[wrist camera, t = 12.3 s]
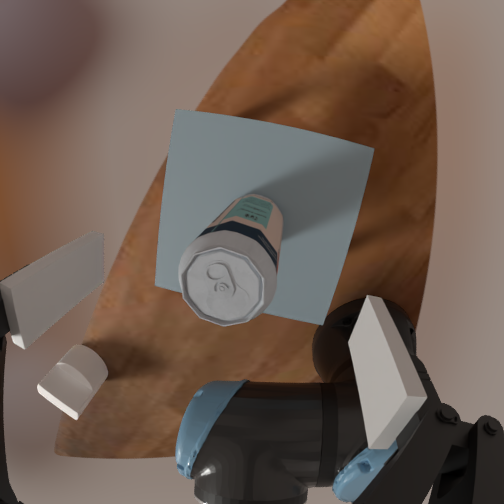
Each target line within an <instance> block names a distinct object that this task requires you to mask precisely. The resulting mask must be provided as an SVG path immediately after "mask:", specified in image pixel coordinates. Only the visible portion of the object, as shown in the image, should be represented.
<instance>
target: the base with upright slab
mask: <svg viewBox="0 0 504 504" xmlns="http://www.w3.org/2000/svg"><path fill="white" fill-rule="evenodd" d="M107 376H108V370H107V367H106V365H105V363H104V361H103V360H102V359H101V357H100V356H99V355H98V354H97V353H96V352H94V351H93V350H92V349H90V348H88V347H86V346H84V345H75V346H73V347H72V348H71V349H70V350H69V351H68V352H67V354H66V355H65V356H64V357H63V358H62V359H61V360H60V361H59V362H58V363H57V364H56V365H55V366H54V367H53V369H52V370H51V371H50V372H49V373H48V374H47V375H46V376H45V377H44V378H43V380H42V381H41V382H40V383H39V384H38V386H37V388H38V392H39V393H40V394H41V395H42V396H44V397H45V398H46V399H47V400H49V401H50V402H52V403H53V404H54V405H56V406H57V407H58V408H59V409H61V410H62V411H64V412H65V413H66V414H68V415H69V416H71V417H72V418H74V419H75V420H77V419H78V418H79V416H80V415H81V413H82V412H83V410H84V409H85V408H86V406H87V405H88V403H89V402H90V401H91V399H92V398H93V396H94V395H95V394H96V392H97V391H98V389H99V388H100V387H101V385H102V384H103V382H104V381H105V380H106V378H107Z"/></svg>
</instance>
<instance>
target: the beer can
mask: <svg viewBox="0 0 504 504" xmlns="http://www.w3.org/2000/svg"><path fill="white" fill-rule="evenodd" d="M283 228H284V219H283V215H282V213H281V211H280V209H279V208H278V206H277V205H276V204H275V203H274V202H273V201H272V200H271V199H269V198H267V197H265V196H262V195H258V194H248V195H244V196H241V197H239V198H237V199H235V200H234V201H233V202H232V203H231V204H230V205H229V206H228V207H227V208H226V209H225V210H224V211H223V212H222V213H221V214H220V215H219V216H218V217H217V218H216V219H215V220H214V221H213V222H212V223H211V224H210V225H209V226H208V227H207V228H206V229H205V230H204V231H203V232H202V233H201V234H200V235H199V236H198V237H197V238H196V239H195V240H194V241H193V242H192V243H191V244H190V245H189V246H188V247H187V248H186V250H185V252H184V253H183V255H182V257H181V260H180V264H179V270H178V275H179V283H180V286H181V290H182V294H183V299H184V300H185V301H186V303H187V304H188V305H189V306H190V307H191V309H192V310H193V311H194V312H195V313H196V314H197V316H198V317H199V318H201V319H204V320H207V321H210V322H212V323H215V324H218V325H221V326H229V325H234V324H239V323H244V322H248V321H249V320H251V319H253V318H255V317H257V316H258V315H260V314H261V313H262V312H263V311H265V309H266V308H267V307H268V306H269V305H270V303H271V302H272V300H273V298H274V296H275V292H276V289H277V273H278V265H279V257H280V249H281V241H282V233H283Z"/></svg>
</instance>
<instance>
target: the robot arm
mask: <svg viewBox="0 0 504 504" xmlns="http://www.w3.org/2000/svg"><path fill="white" fill-rule="evenodd" d="M102 283H104V234H102V233H98V232H94V231H91V232H89V233H87V234H85V235H83V236H82V237H80V238H78V239H76V240H74V241H72V242H70V243H68V244H66V245H64V246H63V247H60V248H59V249H57V250H55V251H53V252H51V253H49V254H48V255H46V256H44V257H42V258H40V259H39V260H37V261H35V262H33V263H31V264H29V265H26V266H25V267H23V268H21V269H20V270H19V271H16V272H14V273H13V275H12V274H11V275H9V276H8V277H6V278H4V279H3V280H1V281H0V504H23V503H22V502H21V501H19V502H18V501H17V498H16V496H15V494H14V492H13V490H12V488H11V486H10V483H9V479H8V471H7V463H6V454H5V442H4V426H3V425H4V424H3V387H4V366H5V354H6V344H7V341H6V337H5V334H6V333H8V332H9V331H10V333H11V336H12V340H13V343H15V344H16V345H18V346H20V347H22V348H23V349H26V348H28V347H29V346H30V345H31V344H32V343H33V342H34V341H35V340H36V339H37V338H39V337H40V336H41V335H42V334H43V333H44V332H45V331H46V330H47V329H48V328H50V327H51V326H52V325H53V324H55V323H56V322H57V321H58V320H59V319H60V318H61V317H63V316H64V315H65V314H66V313H67V312H68V311H70V310H71V309H72V308H73V307H74V306H76V305H77V304H78V303H79V302H80V301H81V300H83V299H84V298H85V297H86V296H88V295H89V294H90V293H91V292H92V291H93V290H95V289H96V288H97V287H99V286H100V285H101V284H102ZM312 353H313V362H314V366H315V369H316V371H317V373H318V374H319V376H320V377H321V379H322V380H323V382H324V383H275V382H250V381H249V380H245V379H244V380H242V381H212V382H209V383H207V384H205V385H204V386H202V387H201V388H200V389H199V390H198V391H197V392H196V394H195V395H194V397H193V399H192V400H191V401H190V403H189V405H188V407H187V409H186V412H185V414H184V417H183V419H182V422H181V426H180V429H179V433H178V438H177V444H176V462H177V463H178V464H177V469H178V471H179V473H180V474H181V475H183V476H185V477H186V478H188V479H195V489H194V494H195V499H196V500H197V501H198V502H199V503H200V504H306V501H307V493H308V488H311V487H331V486H333V487H332V490H333V492H334V493H335V495H336V497H337V498H338V499H339V500H341V501H343V502H352V504H422V502H423V501H424V499H425V497H426V496H427V494H428V492H429V490H430V489H431V487H432V485H433V487H432V491H431V495H430V499H429V503H428V504H504V431H503V427H502V426H501V424H500V422H499V421H497V419H495V418H493V417H491V416H487V415H484V416H481V417H480V418H479V419H478V420H477V422H476V423H475V424H471V423H467V422H463V421H461V420H460V417H459V414H458V413H457V412H456V410H455V409H454V408H452V407H451V406H449V405H447V404H445V403H441V401H440V399H439V397H438V394H437V392H436V390H435V388H434V386H433V384H432V382H431V381H430V377H429V375H428V374H427V370H426V368H425V366H424V364H423V363H422V362H421V361H420V360H419V359H418V358H417V356H416V333H415V329H414V326H413V324H412V322H411V320H410V319H409V317H408V315H407V314H406V312H405V311H404V310H403V309H402V308H401V307H400V306H398V305H397V304H395V303H393V302H391V301H388V300H385V299H382V298H380V297H375V296H370V295H367V297H366V298H365V299H359V300H355V301H352V302H349V303H347V304H344V305H342V306H341V307H339V308H337V309H336V310H334V311H333V312H332V313H330V314H329V315H328V316H327V317H326V318H325V321H324V323H323V325H319V327H318V329H317V331H316V333H315V335H314V338H313V343H312Z"/></svg>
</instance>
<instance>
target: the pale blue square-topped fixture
mask: <svg viewBox="0 0 504 504" xmlns="http://www.w3.org/2000/svg"><path fill="white" fill-rule="evenodd" d="M373 153H374V148H371V147H367V146H364V145H361V144H357V143H354V142H350V141H347V140H343V139H339V138H335V137H331V136H328V135H324V134H320V133H315V132H311V131H307V130H303V129H298V128H294V127H289V126H284V125H279V124H274V123H269V122H264V121H258V120H253V119H247V118H241V117H235V116H228V115H221V114H214V113H206V112H198V111H189V110H180V109H176V111H175V116H174V122H173V128H172V134H171V140H170V146H169V152H168V159H167V166H166V173H165V181H164V189H163V197H162V206H161V215H160V225H159V236H158V248H157V262H156V277H155V286H158V287H162V288H165V289H169V290H173V291H177V292H180V293H182V290H181V286H180V283H179V275H178V270H179V264H180V260H181V257H182V255H183V253H184V252H185V250H186V248H187V247H188V246H189V245H190V244H191V243H192V242H193V241H194V240H195V239H196V238H197V237H198V236H199V235H200V234H201V233H202V232H203V231H204V230H205V229H206V228H207V227H208V226H209V225H210V224H211V223H212V222H213V221H214V220H215V219H216V218H217V217H218V216H219V215H220V214H221V213H222V212H223V211H224V210H225V209H226V208H227V207H228V206H229V205H230V204H231V203H232V202H233V201H234V200H235V199H237V198H239V197H241V196H244V195H248V194H258V195H262V196H265V197H267V198H269V199H271V200H272V201H273V202H274V203H275V204H276V205H277V206H278V208H279V209H280V211H281V213H282V215H283V219H284V228H283V233H282V241H281V249H280V257H279V265H278V273H277V289H276V292H275V296H274V298H273V300H272V302H271V303H270V305H269V306H268V307H267V308H266V309H265V311H263V312H262V313H267V314H271V315H276V316H280V317H285V318H290V319H294V320H299V321H304V322H309V323H314V324H319V325H323V323H324V321H325V318H326V315H327V312H328V309H329V307H330V304H331V301H332V298H333V295H334V292H335V289H336V286H337V283H338V280H339V277H340V274H341V271H342V268H343V264H344V261H345V258H346V255H347V251H348V248H349V245H350V241H351V238H352V235H353V231H354V228H355V224H356V221H357V217H358V213H359V210H360V206H361V202H362V198H363V195H364V191H365V187H366V183H367V179H368V175H369V171H370V166H371V162H372V158H373Z"/></svg>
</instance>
